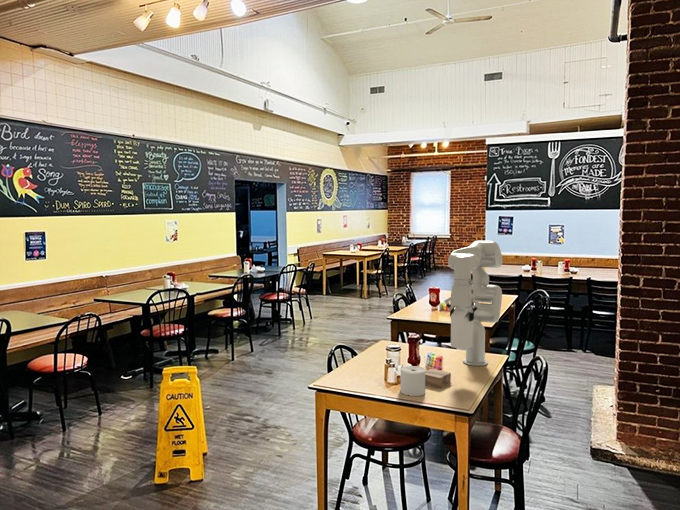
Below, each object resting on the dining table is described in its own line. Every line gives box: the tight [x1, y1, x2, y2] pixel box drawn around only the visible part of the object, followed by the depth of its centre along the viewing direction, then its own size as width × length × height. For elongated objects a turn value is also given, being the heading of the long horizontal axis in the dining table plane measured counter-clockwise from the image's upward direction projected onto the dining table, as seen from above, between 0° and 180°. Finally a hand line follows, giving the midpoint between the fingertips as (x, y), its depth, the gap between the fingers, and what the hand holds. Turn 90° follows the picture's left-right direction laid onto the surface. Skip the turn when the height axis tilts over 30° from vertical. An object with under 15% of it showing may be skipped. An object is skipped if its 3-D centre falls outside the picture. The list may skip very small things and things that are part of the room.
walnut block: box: [425, 368, 452, 389], centre depth 228 cm, size 10×10×5 cm
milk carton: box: [450, 306, 473, 351], centre depth 230 cm, size 7×7×19 cm
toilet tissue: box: [400, 364, 427, 397], centre depth 216 cm, size 11×12×10 cm
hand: (461, 319), depth 230 cm, fingers closed on milk carton, 8 cm apart
